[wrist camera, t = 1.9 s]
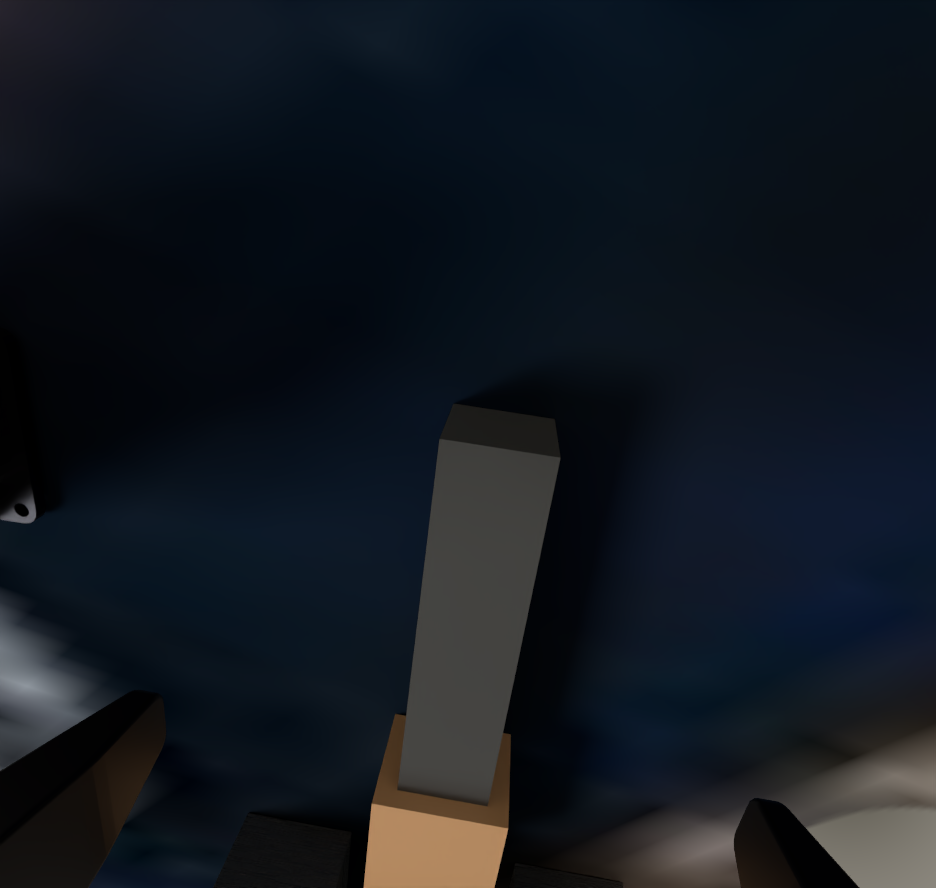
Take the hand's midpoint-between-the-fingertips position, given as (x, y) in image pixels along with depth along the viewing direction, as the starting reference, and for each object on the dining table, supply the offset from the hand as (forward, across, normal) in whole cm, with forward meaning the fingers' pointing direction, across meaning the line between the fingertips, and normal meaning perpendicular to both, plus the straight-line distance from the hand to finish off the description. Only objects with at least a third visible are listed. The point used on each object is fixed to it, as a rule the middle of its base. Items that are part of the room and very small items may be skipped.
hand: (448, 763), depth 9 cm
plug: (+10, 0, +7) cm, 12 cm away
